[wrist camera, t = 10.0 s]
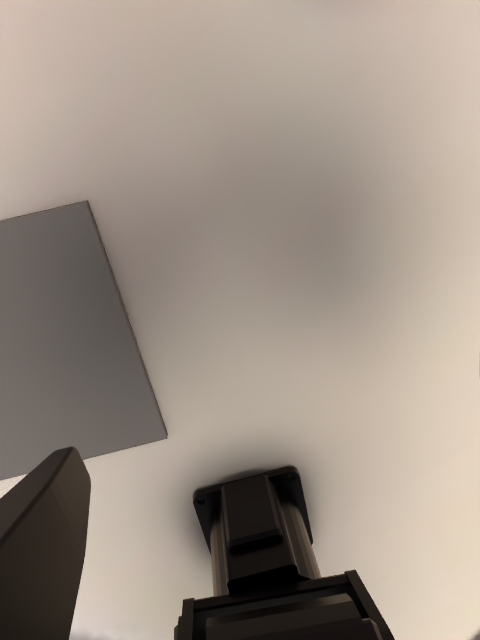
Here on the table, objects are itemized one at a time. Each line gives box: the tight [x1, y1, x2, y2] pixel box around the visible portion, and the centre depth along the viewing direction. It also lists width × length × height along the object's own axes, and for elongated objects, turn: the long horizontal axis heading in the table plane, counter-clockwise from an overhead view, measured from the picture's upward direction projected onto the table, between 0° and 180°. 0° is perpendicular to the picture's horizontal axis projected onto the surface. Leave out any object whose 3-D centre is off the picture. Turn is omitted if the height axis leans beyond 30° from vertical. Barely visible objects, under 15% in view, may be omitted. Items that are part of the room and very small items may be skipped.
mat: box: [0, 201, 168, 481], centre depth 21 cm, size 13×13×1 cm
